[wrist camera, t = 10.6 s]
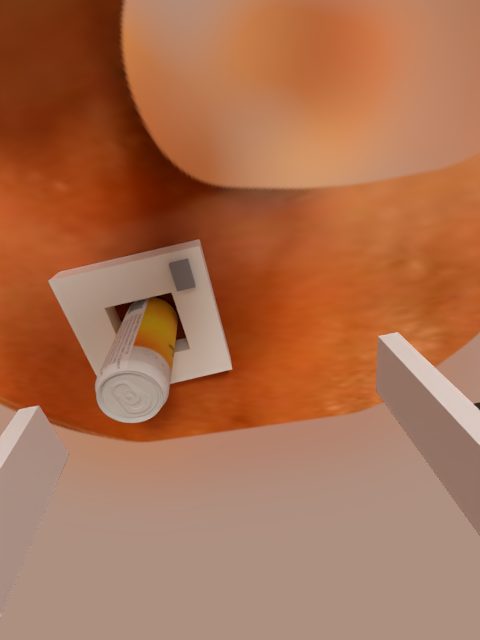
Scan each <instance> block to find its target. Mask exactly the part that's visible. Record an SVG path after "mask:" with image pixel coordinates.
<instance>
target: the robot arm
mask: <svg viewBox="0 0 480 640" xmlns="http://www.w3.org/2000/svg"><path fill="white" fill-rule="evenodd" d="M376 392H377V393H378V394H379V396H380V397H381V399H382V400H383V401H384V403H385V404H386V406H387V407H388V408H389V410H390V411H391V413H392V414H393V415H394V417H395V418H396V420H397V421H398V422H399V424H400V425H401V427H402V428H403V429H404V431H405V432H406V433H407V435H408V436H409V438H410V439H411V440H412V442H413V443H414V445H415V446H416V447H417V449H418V450H419V452H420V453H421V455H422V456H423V457H424V459H425V460H426V461H427V463H428V464H429V466H430V467H431V468H432V470H433V471H434V473H435V474H436V475H437V477H438V478H439V480H440V481H441V482H442V483H443V485H444V487H445V488H446V489H447V491H448V492H449V494H450V495H451V496H452V498H453V499H454V501H455V502H456V503H457V505H458V506H459V508H460V509H461V510H462V512H463V513H464V514H465V516H466V517H467V519H468V520H469V522H470V523H471V524H472V526H473V527H474V528H475V530H476V531H477V533H478V534H479V535H480V403H475V404H473V403H472V402H470V401H469V400H468V399H467V398H466V397H465V396H464V395H463V394H462V393H461V392H460V391H459V390H458V389H457V388H456V387H455V386H454V385H453V384H452V383H451V382H449V381H448V380H447V379H446V378H445V377H444V376H443V375H442V374H441V373H440V372H439V371H438V370H437V369H436V368H435V367H434V366H433V365H432V364H431V363H429V362H428V361H427V360H426V359H425V358H424V357H423V356H422V355H421V354H420V353H419V352H418V351H417V350H416V349H415V348H414V347H413V346H412V345H411V344H409V343H408V342H407V341H406V340H405V339H404V338H403V337H402V336H401V335H400V334H399V333H398V332H396V333H391V334H386V335H381V336H378V351H377V374H376ZM68 456H69V453H68V451H67V450H66V448H65V446H64V445H63V443H62V442H61V440H60V438H59V437H58V435H57V434H56V432H55V430H54V429H53V427H52V425H51V424H50V422H49V421H48V419H47V417H46V416H45V414H44V413H43V411H42V409H41V408H40V406H39V405H38V406H33V407H28V408H23V409H19V410H18V411H17V413H16V414H15V416H14V417H13V419H12V420H11V422H10V423H9V425H8V426H7V428H6V429H5V431H4V432H3V434H2V435H1V437H0V619H1V616H2V614H3V612H4V609H5V607H6V605H7V602H8V600H9V597H10V595H11V592H12V590H13V588H14V585H15V583H16V580H17V578H18V576H19V573H20V571H21V569H22V566H23V564H24V561H25V559H26V557H27V554H28V552H29V550H30V547H31V545H32V542H33V540H34V537H35V535H36V533H37V530H38V528H39V526H40V523H41V521H42V518H43V516H44V513H45V511H46V508H47V506H48V504H49V501H50V499H51V496H52V494H53V492H54V490H55V487H56V485H57V482H58V480H59V478H60V475H61V472H62V470H63V468H64V465H65V463H66V461H67V458H68Z"/></svg>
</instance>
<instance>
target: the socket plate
mask: <svg viewBox="0 0 480 640" xmlns="http://www.w3.org/2000/svg"><path fill="white" fill-rule="evenodd" d="M48 282H49V284H50V286H51V288H52V290H53V292H54V294H55V296H56V298H57V300H58V302H59V304H60V306H61V308H62V310H63V312H64V314H65V316H66V318H67V319H68V321H69V323H70V325H71V327H72V329H73V331H74V333H75V335H76V337H77V339H78V341H79V343H80V345H81V347H82V349H83V351H84V353H85V355H86V357H87V359H88V361H89V363H90V365H91V366H92V368H93V370H94V372H95V374H96V376H97V377H98V375H99V372H100V370H101V368H102V366H103V363H104V361H105V359H106V357H107V355H108V352H109V350H110V348H111V346H112V344H113V341H114V339H115V337H116V335H117V333H118V330H119V328H120V326H121V324H122V322H121V320H120V318H119V315H118V313H117V311H116V308H115V306H116V305H120V304H124V303H129V302H133V301H137V300H141V299H146V298H150V297H154V296H159V295H163V294H167V293H171V292H172V295H173V298H174V301H175V304H176V307H177V311H178V314H179V317H180V320H181V323H182V326H183V329H184V332H185V335H186V338H183V339H179V340H176V342H175V350H174V357H173V365H172V373H171V381H170V384H172V383H176V382H180V381H185V380H189V379H193V378H197V377H202V376H206V375H210V374H214V373H219V372H223V371H227V370H232V364H231V357H230V353H229V349H228V345H227V342H226V338H225V334H224V330H223V326H222V323H221V319H220V315H219V311H218V307H217V304H216V300H215V296H214V292H213V288H212V285H211V281H210V277H209V273H208V269H207V265H206V262H205V258H204V254H203V250H202V246H201V243H200V239H198V240H193V241H189V242H185V243H181V244H176V245H172V246H168V247H163V248H159V249H155V250H150V251H146V252H142V253H138V254H133V255H129V256H125V257H120V258H116V259H112V260H107V261H103V262H99V263H95V264H90V265H86V266H82V267H77V268H73V269H69V270H64V271H60V272H58V273H57V274H56V275H55V276H53V277H52V278H51V279H50V280H49V281H48Z"/></svg>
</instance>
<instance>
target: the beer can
mask: <svg viewBox="0 0 480 640" xmlns="http://www.w3.org/2000/svg"><path fill="white" fill-rule="evenodd" d="M177 326H178V318H177V314H176V312H175V310H174V309H173V307H172V306H171V305H170V304H168V303H167V302H166V301H164V300H161V299H159V298H153V297H150V298H146V299H141V300H137V301H135V302H134V303H133V304H132V305H131V306H130V307H129V309H128V311H127V313H126V315H125V317H124V319H123V322H122V324H121V326H120V328H119V330H118V333H117V335H116V337H115V339H114V341H113V344H112V346H111V348H110V350H109V352H108V355H107V357H106V359H105V361H104V363H103V366H102V368H101V370H100V372H99V375H98V377H97V379H96V382H95V392H96V399H97V403H98V405H99V407H100V409H101V410H102V411H103V412H104V413H105V414H106V415H107V416H109V417H110V418H112V419H114V420H117V421H120V422H125V423H138V422H143V421H146V420H148V419H150V418H152V417H153V416H155V415H156V414H157V413H158V412H159V410H160V409H161V407H162V406H163V405H164V404H165V403H166V401H167V399H168V395H169V389H170V381H171V373H172V365H173V357H174V350H175V342H176V334H177Z"/></svg>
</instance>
